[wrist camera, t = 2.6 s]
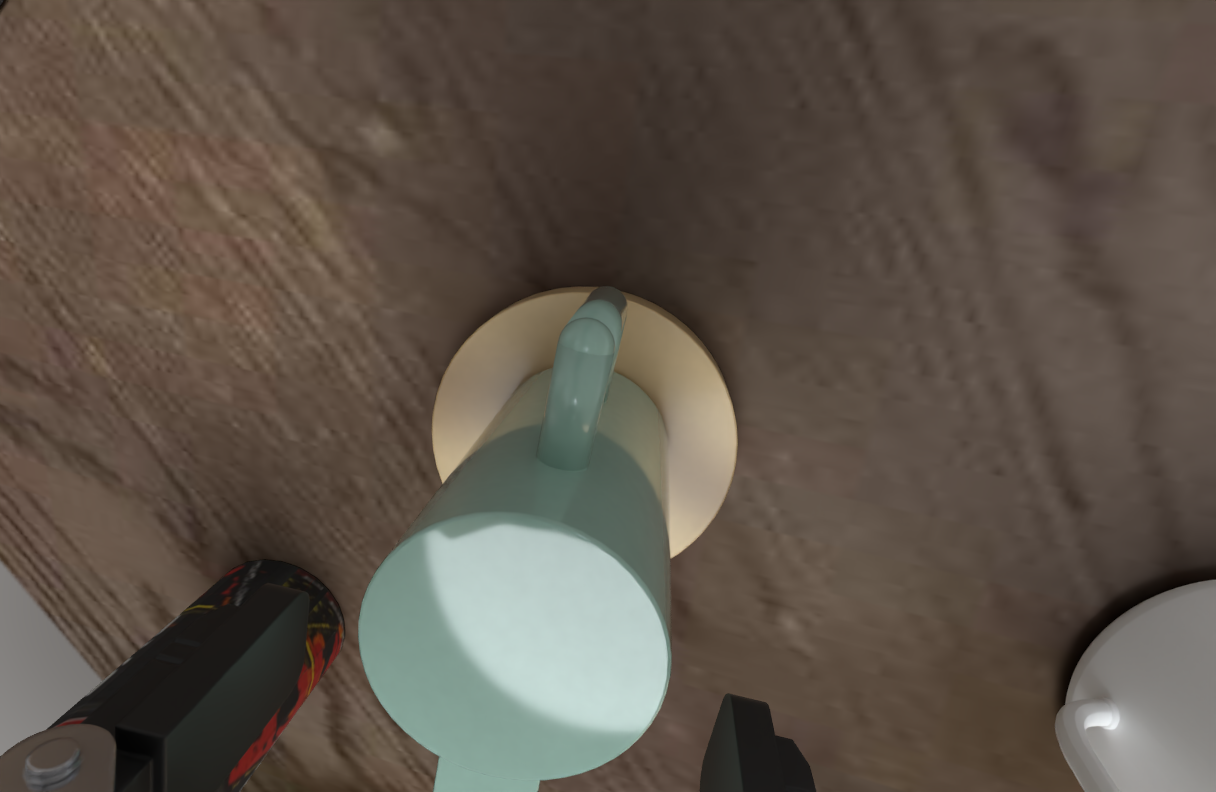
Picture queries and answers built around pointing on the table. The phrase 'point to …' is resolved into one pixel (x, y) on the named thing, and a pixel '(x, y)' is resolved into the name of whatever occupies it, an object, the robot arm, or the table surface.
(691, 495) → the stand
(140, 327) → the table surface
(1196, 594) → the coffeepot
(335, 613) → the deodorant
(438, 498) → the jug
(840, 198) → the table surface
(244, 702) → the robot arm
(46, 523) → the table surface
